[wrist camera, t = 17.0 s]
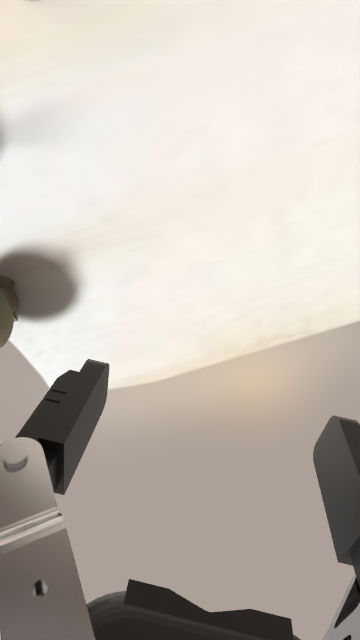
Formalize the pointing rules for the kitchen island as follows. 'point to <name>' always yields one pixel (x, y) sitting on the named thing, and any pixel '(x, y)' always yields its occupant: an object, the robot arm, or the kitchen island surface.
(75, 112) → the kitchen island surface
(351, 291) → the kitchen island surface
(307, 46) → the kitchen island surface
